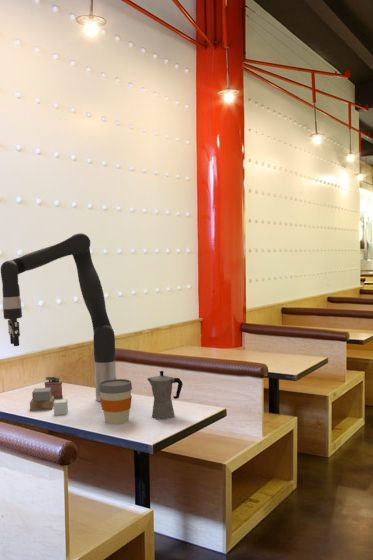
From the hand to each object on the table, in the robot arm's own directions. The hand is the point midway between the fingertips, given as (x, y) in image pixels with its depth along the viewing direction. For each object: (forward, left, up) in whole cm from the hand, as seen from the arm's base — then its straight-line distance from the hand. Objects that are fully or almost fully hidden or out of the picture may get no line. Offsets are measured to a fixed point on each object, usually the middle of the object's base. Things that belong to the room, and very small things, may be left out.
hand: (14, 344), depth 240 cm
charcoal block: (-11, +3, -24) cm, 26 cm away
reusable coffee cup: (-43, +30, -27) cm, 59 cm away
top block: (-20, +13, -27) cm, 36 cm away
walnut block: (-11, +2, -28) cm, 30 cm away
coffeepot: (-62, +28, -27) cm, 73 cm away
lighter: (-14, -13, -27) cm, 33 cm away
